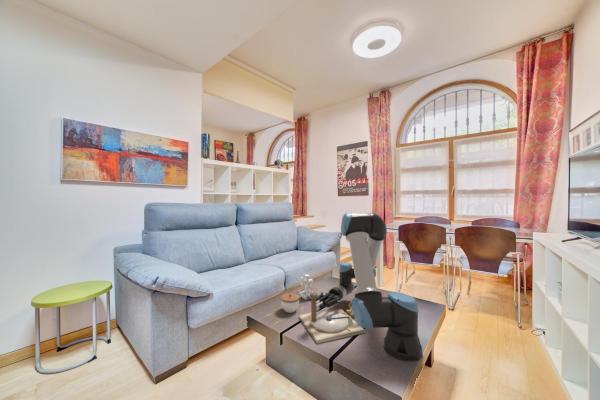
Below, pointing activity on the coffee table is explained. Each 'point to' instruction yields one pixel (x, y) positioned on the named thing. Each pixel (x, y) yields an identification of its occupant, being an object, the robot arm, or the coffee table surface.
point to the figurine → (306, 287)
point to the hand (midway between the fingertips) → (313, 308)
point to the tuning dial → (327, 318)
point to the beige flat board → (328, 336)
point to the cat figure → (350, 310)
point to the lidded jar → (290, 302)
